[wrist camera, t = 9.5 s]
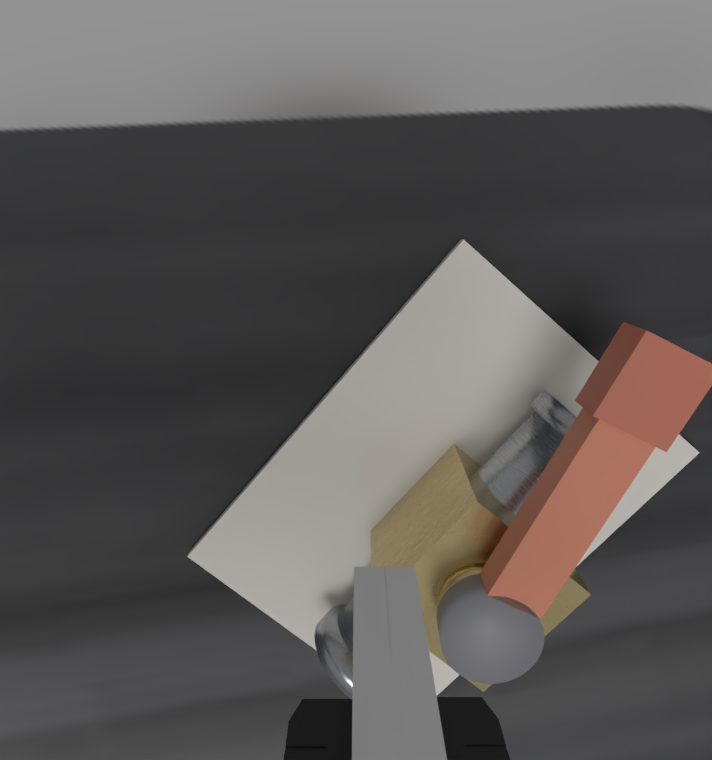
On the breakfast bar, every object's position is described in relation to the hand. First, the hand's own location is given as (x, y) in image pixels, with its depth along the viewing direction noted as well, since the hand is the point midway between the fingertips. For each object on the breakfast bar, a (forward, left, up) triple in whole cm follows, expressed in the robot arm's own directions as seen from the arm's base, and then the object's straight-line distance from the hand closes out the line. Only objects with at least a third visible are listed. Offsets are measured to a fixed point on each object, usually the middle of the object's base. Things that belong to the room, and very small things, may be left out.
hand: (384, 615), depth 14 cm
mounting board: (+8, -4, -23) cm, 24 cm away
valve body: (+10, -4, -23) cm, 25 cm away
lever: (+9, +3, -13) cm, 16 cm away
